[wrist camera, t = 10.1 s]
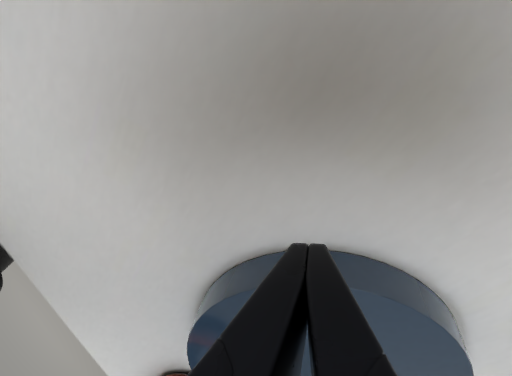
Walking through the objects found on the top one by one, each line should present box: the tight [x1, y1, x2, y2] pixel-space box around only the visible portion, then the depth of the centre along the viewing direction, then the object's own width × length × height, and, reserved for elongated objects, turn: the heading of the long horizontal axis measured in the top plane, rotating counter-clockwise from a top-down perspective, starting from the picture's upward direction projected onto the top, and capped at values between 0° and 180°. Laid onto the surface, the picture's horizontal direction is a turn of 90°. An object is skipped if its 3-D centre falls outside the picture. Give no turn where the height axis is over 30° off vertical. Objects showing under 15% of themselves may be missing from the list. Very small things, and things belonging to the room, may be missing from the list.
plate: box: [187, 251, 474, 376], centre depth 22 cm, size 17×17×2 cm
